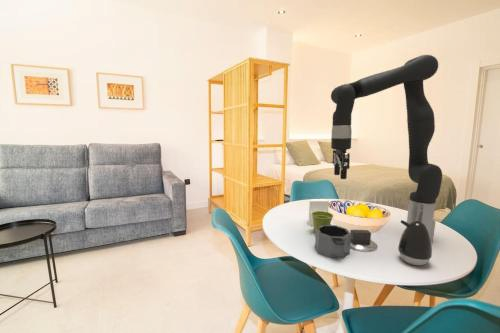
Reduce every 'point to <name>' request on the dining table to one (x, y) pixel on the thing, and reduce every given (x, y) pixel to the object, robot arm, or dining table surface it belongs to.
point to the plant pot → (321, 218)
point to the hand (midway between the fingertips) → (340, 176)
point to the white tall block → (317, 208)
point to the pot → (332, 241)
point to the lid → (362, 241)
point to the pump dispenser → (415, 243)
